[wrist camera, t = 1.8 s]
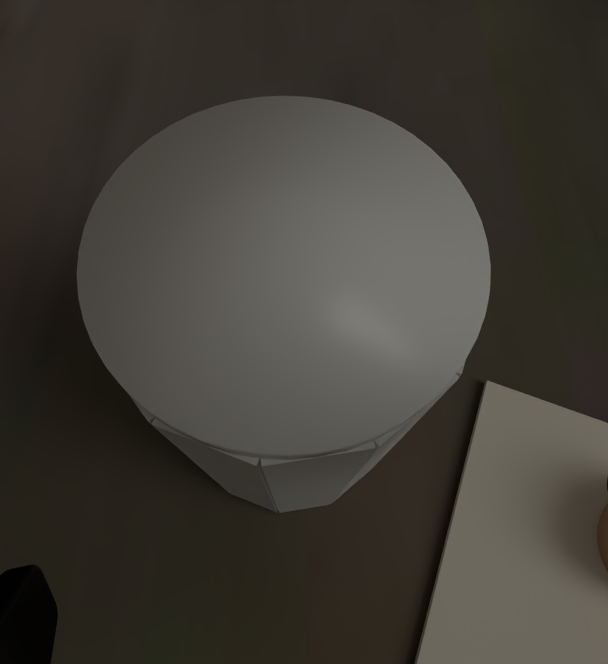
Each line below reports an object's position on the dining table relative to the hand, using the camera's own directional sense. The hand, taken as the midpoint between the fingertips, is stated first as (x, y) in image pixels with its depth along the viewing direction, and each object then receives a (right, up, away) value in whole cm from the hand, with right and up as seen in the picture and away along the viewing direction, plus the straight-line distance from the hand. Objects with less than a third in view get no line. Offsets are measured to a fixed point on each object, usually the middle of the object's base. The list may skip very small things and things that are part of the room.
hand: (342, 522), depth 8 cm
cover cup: (-1, 0, +12) cm, 12 cm away
